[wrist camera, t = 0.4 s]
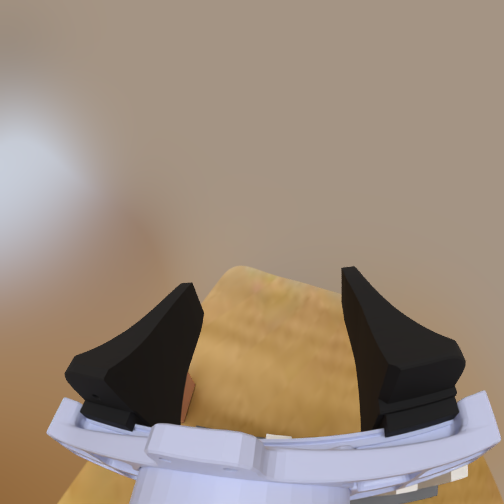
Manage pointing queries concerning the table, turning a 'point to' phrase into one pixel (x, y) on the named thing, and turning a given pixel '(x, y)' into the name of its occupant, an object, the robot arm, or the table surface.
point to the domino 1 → (187, 396)
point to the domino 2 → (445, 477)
